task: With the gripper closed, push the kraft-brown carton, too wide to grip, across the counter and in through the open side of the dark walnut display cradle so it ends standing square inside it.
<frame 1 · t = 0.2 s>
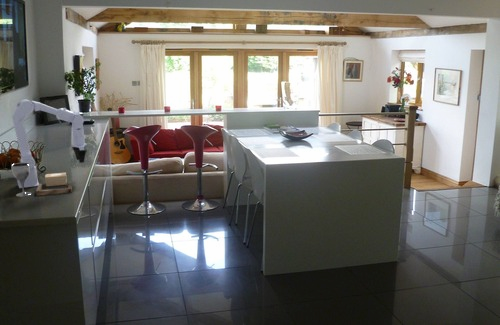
hand: (80, 161, 265), 10 cm above the countertop, tool pointing down, fingers open, 7 cm apart
cradle: (55, 189, 247), on the countertop
wine glass: (23, 194, 239), on the countertop
carton: (56, 184, 258), on the countertop
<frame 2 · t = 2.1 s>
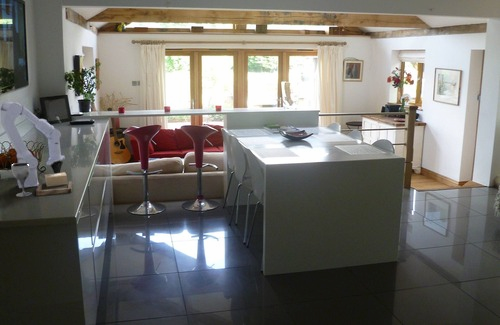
hand: (57, 175, 265), 2 cm above the countertop, tool pointing down, fingers closed
nothing on the countertop moved.
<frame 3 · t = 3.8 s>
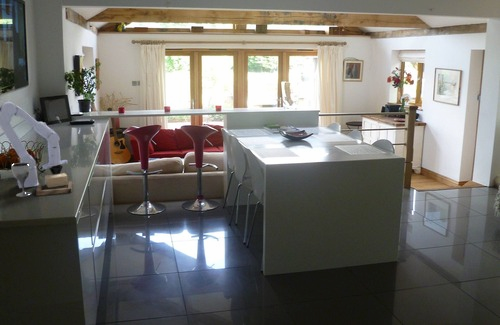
hand: (56, 179, 261), 1 cm above the countertop, tool pointing down, fingers closed
carton: (57, 185, 256), on the countertop
everything else where it was.
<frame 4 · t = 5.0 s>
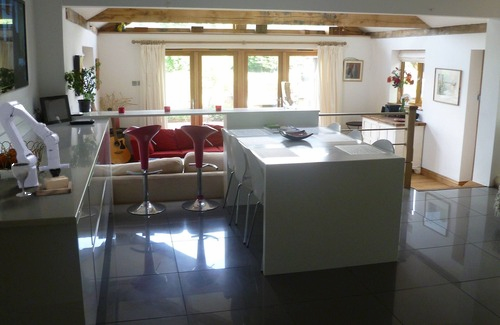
hand: (56, 182, 255), 1 cm above the countertop, tool pointing down, fingers closed
carton: (56, 188, 250), on the countertop, touching gripper
everything else where it was.
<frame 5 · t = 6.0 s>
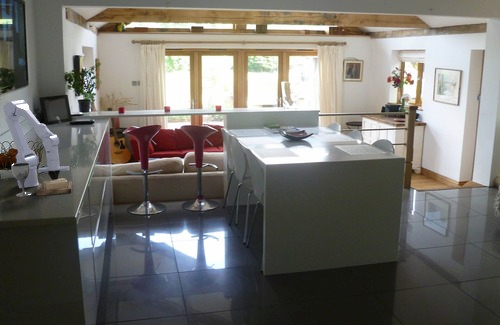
hand: (55, 185, 251), 1 cm above the countertop, tool pointing down, fingers closed
carton: (56, 190, 246), on the countertop, touching gripper
everything else where it was.
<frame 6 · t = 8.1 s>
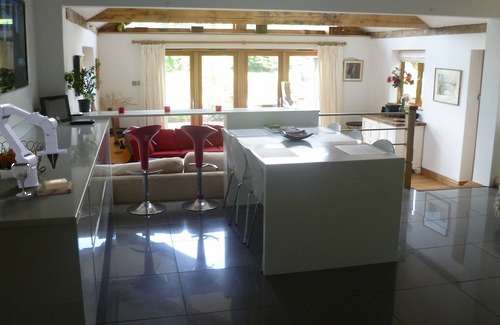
hand: (53, 168, 251), 9 cm above the countertop, tool pointing down, fingers closed
carton: (56, 190, 246), on the countertop
everything else where it was.
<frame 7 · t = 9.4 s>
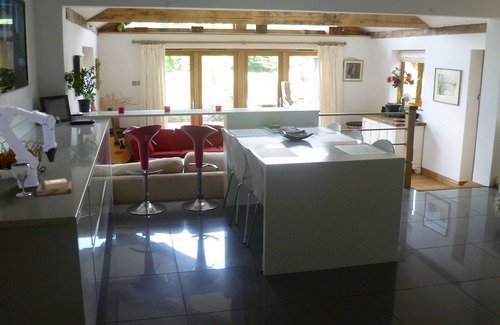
hand: (51, 161, 265), 9 cm above the countertop, tool pointing down, fingers closed
nothing on the countertop moved.
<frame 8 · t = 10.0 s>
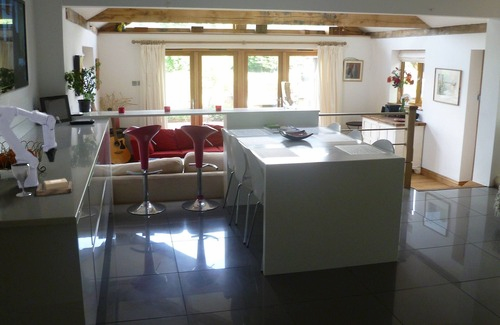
hand: (51, 161, 265), 9 cm above the countertop, tool pointing down, fingers closed
nothing on the countertop moved.
at the end: carton 2.1 cm from the cradle (horizontally); carton tilted 0° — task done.
